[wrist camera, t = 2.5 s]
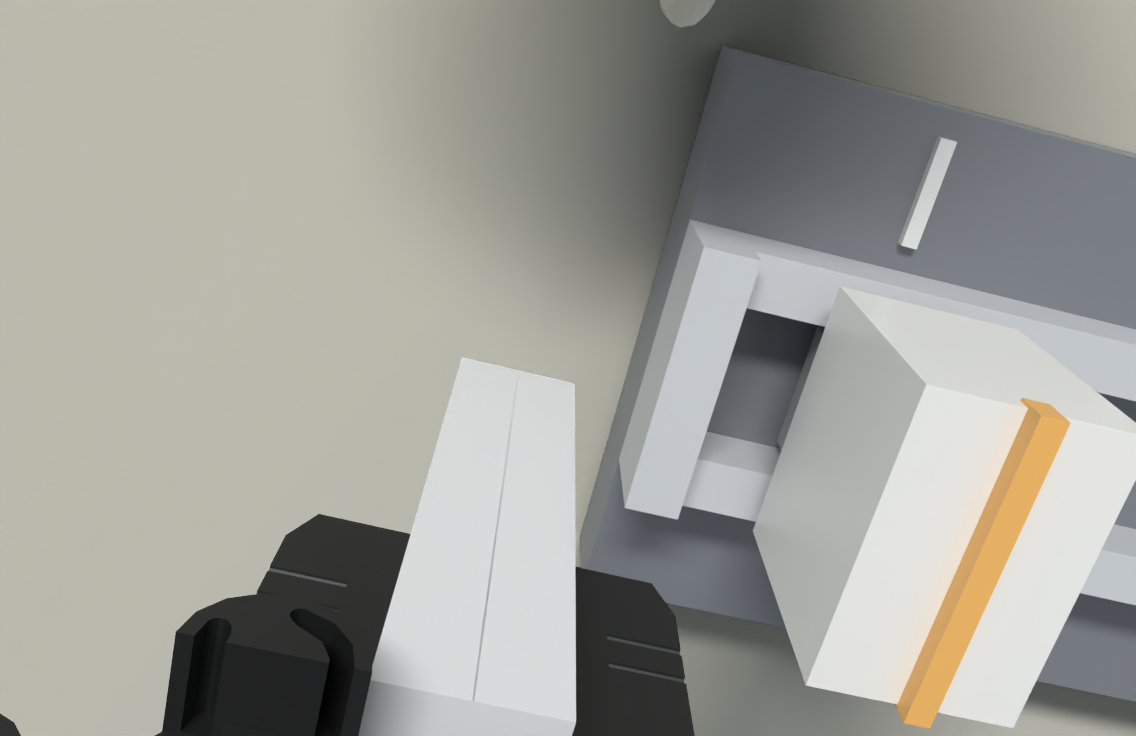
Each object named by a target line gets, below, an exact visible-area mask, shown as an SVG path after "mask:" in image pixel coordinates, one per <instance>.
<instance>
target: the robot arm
mask: <svg viewBox="0 0 1136 736" xmlns="http://www.w3.org/2000/svg"><path fill="white" fill-rule="evenodd" d="M679 654H680V643H679V637H678V631H677V624H676V618H675V615H674V614H673V612H672V611H671V609H670V608H669V607H668V605H667V604H666V603H665V601H664V600H663V598H662V597H661V596H660V594H659V593H658V591H657V590H656V589H655V587H654V586H653V585H652V583H648V582H643V581H638V580H634V579H629V578H625V577H620V576H616V575H611V574H607V573H602V572H597V571H593V570H588V569H584V568H579V567H575V383H570V382H566V381H562V380H558V379H553V378H549V377H545V376H540V375H536V374H532V373H528V372H523V371H519V370H515V369H511V368H506V367H502V366H498V365H493V364H489V363H485V362H481V361H476V360H472V359H468V358H463V357H462V359H461V362H460V366H459V369H458V373H457V376H456V379H455V383H454V386H453V390H452V393H451V397H450V400H449V404H448V407H447V410H446V414H445V417H444V421H443V424H442V428H441V431H440V435H439V438H438V441H437V445H436V448H435V452H434V455H433V459H432V462H431V466H430V469H429V472H428V476H427V479H426V483H425V486H424V490H423V493H422V497H421V500H420V503H419V507H418V510H417V514H416V517H415V521H414V524H413V528H412V531H411V534H408V533H403V532H399V531H394V530H389V529H385V528H380V527H376V526H371V525H367V524H362V523H357V522H353V521H348V520H344V519H339V518H335V517H330V516H325V515H321V514H318V515H317V516H315V517H314V518H312V519H311V520H309V521H307V522H306V523H304V524H303V525H301V526H300V527H298V528H296V529H295V530H293V531H292V532H290V533H289V534H287V535H286V536H285V538H284V540H283V542H282V544H281V546H280V548H279V550H278V552H277V553H276V555H275V557H274V559H273V561H272V563H271V565H270V569H269V571H267V573H266V575H265V577H264V579H263V581H262V583H261V585H260V587H259V589H258V591H257V594H256V595H248V596H241V597H234V598H227V599H224V600H222V601H220V602H218V603H215V604H213V605H211V606H208V607H206V608H204V609H201V610H199V611H197V612H196V613H195V614H194V615H192V616H191V617H190V618H189V619H188V620H187V621H186V622H185V623H184V624H183V625H182V626H181V627H180V628H179V629H178V630H177V631H176V636H175V643H174V650H173V658H172V665H171V672H170V679H169V687H168V694H167V701H166V708H165V716H164V723H163V730H162V732H161V733H159V734H157V735H155V736H694V731H693V725H692V718H691V712H690V706H689V700H688V693H687V687H686V684H684V678H685V674H684V668H683V662H682V656H680V655H679ZM0 736H21V735H20V733H19V731H18V729H17V727H16V725H15V723H14V722H12V721H11V720H9V719H8V718H6V717H5V716H3V715H2V714H0Z"/></svg>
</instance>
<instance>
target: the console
mask: <svg viewBox="0 0 1136 736" xmlns="http://www.w3.org/2000/svg"><path fill="white" fill-rule="evenodd" d="M840 286H841V287H845V288H849V289H854V290H858V291H862V292H866V293H870V294H874V295H878V296H882V297H886V298H890V299H894V300H899V301H903V302H907V303H911V304H915V305H919V306H923V307H927V308H931V309H935V310H940V311H944V312H948V313H952V314H956V315H960V316H964V317H968V318H972V319H976V320H981V321H985V322H989V323H993V324H997V325H1001V326H1005V327H1009V328H1013V329H1017V330H1019V331H1020V332H1022V333H1023V334H1024V335H1025V336H1027V337H1028V338H1029V339H1030V340H1032V341H1033V342H1034V343H1036V344H1037V345H1038V346H1039V347H1041V348H1042V349H1043V350H1044V351H1046V352H1047V353H1048V354H1049V355H1051V356H1052V357H1053V358H1055V359H1056V360H1057V361H1058V362H1060V363H1061V364H1062V365H1063V366H1065V367H1066V368H1067V369H1068V370H1070V371H1071V372H1072V373H1074V374H1075V375H1076V376H1077V377H1079V378H1080V379H1081V380H1082V381H1084V382H1085V383H1086V384H1087V385H1089V386H1090V387H1091V388H1093V389H1094V390H1095V391H1096V392H1098V393H1099V394H1100V395H1101V396H1103V397H1104V398H1105V399H1106V400H1108V401H1109V402H1110V403H1112V404H1113V405H1114V406H1115V407H1117V408H1118V409H1119V410H1120V411H1122V412H1123V413H1124V414H1125V415H1127V416H1128V417H1129V418H1131V419H1132V420H1133V421H1134V422H1136V154H1132V153H1128V152H1125V151H1121V150H1117V149H1113V148H1109V147H1106V146H1102V145H1098V144H1094V143H1091V142H1087V141H1083V140H1079V139H1075V138H1072V137H1068V136H1064V135H1060V134H1056V133H1053V132H1049V131H1045V130H1041V129H1037V128H1034V127H1030V126H1026V125H1022V124H1019V123H1015V122H1011V121H1007V120H1003V119H1000V118H996V117H992V116H988V115H984V114H981V113H977V112H973V111H969V110H965V109H962V108H958V107H954V106H950V105H947V104H943V103H939V102H935V101H931V100H928V99H924V98H920V97H916V96H912V95H909V94H905V93H901V92H897V91H893V90H890V89H886V88H882V87H878V86H875V85H871V84H867V83H863V82H859V81H856V80H852V79H848V78H844V77H840V76H837V75H833V74H829V73H825V72H821V71H818V70H814V69H810V68H806V67H803V66H799V65H795V64H791V63H787V62H784V61H780V60H776V59H772V58H768V57H765V56H761V55H757V54H753V53H749V52H746V51H742V50H738V49H734V48H731V47H727V46H723V45H722V47H721V51H720V54H719V58H718V61H717V65H716V68H715V72H714V75H713V79H712V82H711V85H710V89H709V92H708V96H707V99H706V103H705V106H704V110H703V113H702V117H701V120H700V123H699V127H698V130H697V134H696V137H695V141H694V144H693V148H692V151H691V155H690V158H689V162H688V165H687V168H686V172H685V175H684V179H683V182H682V186H681V189H680V193H679V196H678V200H677V203H676V206H675V210H674V213H673V217H672V220H671V224H670V227H669V231H668V234H667V238H666V241H665V244H664V248H663V251H662V255H661V258H660V262H659V265H658V269H657V272H656V276H655V279H654V282H653V286H652V289H651V293H650V296H649V300H648V303H647V307H646V310H645V314H644V317H643V320H642V324H641V327H640V331H639V334H638V338H637V341H636V345H635V348H634V352H633V355H632V359H631V362H630V365H629V369H628V372H627V376H626V379H625V383H624V386H623V390H622V393H621V397H620V400H619V403H618V407H617V410H616V414H615V417H614V421H613V424H612V428H611V431H610V435H609V438H608V441H607V445H606V448H605V452H604V455H603V459H602V462H601V466H600V469H599V473H598V476H597V479H596V483H595V486H594V490H593V493H592V497H591V500H590V504H589V507H588V511H587V514H586V517H585V521H584V524H583V528H582V531H581V535H580V551H581V568H584V569H588V570H593V571H597V572H602V573H607V574H611V575H616V576H620V577H625V578H629V579H634V580H638V581H643V582H648V583H652V585H653V586H654V587H655V589H656V590H657V591H658V593H659V594H660V596H661V597H662V598H663V600H664V601H665V603H669V604H673V605H678V606H683V607H688V608H692V609H697V610H702V611H707V612H711V613H716V614H721V615H726V616H730V617H735V618H740V619H745V620H749V621H754V622H759V623H764V624H768V625H773V626H778V627H783V628H786V627H785V624H784V621H783V618H782V615H781V612H780V609H779V606H778V603H777V600H776V597H775V595H774V592H773V589H772V586H771V583H770V580H769V577H768V574H767V571H766V568H765V565H764V562H763V560H762V557H761V554H760V551H759V548H758V545H757V542H756V539H755V536H754V533H753V529H754V526H755V523H756V520H757V518H758V515H759V512H760V509H761V506H762V504H763V501H764V498H765V495H766V492H767V490H768V487H769V484H770V481H771V478H772V476H773V473H774V470H775V467H776V464H777V461H778V459H779V456H780V453H781V449H780V446H779V444H778V442H777V439H778V437H779V434H780V431H781V428H782V425H783V422H784V420H785V417H786V414H787V411H788V408H789V405H790V403H791V400H792V397H793V394H794V391H795V388H796V386H797V383H798V380H799V377H800V374H801V371H802V369H803V366H804V363H805V360H806V357H807V354H808V352H809V349H810V346H811V343H812V340H813V337H814V335H815V332H816V329H817V327H820V328H824V329H825V327H826V324H827V321H828V318H829V315H830V313H831V310H832V307H833V304H834V301H835V299H836V296H837V293H838V290H839V287H840ZM1037 681H1039V682H1044V683H1049V684H1053V685H1058V686H1063V687H1068V688H1072V689H1077V690H1082V691H1087V692H1091V693H1096V694H1101V695H1106V696H1110V697H1115V698H1120V699H1125V700H1129V701H1134V702H1136V481H1135V483H1134V485H1133V487H1132V489H1131V491H1130V493H1129V495H1128V497H1127V499H1126V501H1125V503H1124V505H1123V507H1122V509H1121V511H1120V513H1119V515H1118V517H1117V519H1116V521H1115V523H1114V525H1113V527H1112V529H1111V531H1110V533H1109V535H1108V537H1107V539H1106V541H1105V543H1104V545H1103V547H1102V549H1101V551H1100V553H1099V555H1098V557H1097V559H1096V561H1095V563H1094V565H1093V567H1092V569H1091V571H1090V574H1089V576H1088V578H1087V580H1086V582H1085V584H1084V586H1083V588H1082V590H1081V592H1080V594H1079V596H1078V598H1077V600H1076V602H1075V604H1074V606H1073V608H1072V610H1071V612H1070V614H1069V616H1068V618H1067V620H1066V622H1065V624H1064V626H1063V628H1062V630H1061V632H1060V634H1059V636H1058V638H1057V640H1056V642H1055V644H1054V646H1053V648H1052V650H1051V652H1050V654H1049V656H1048V658H1047V660H1046V662H1045V664H1044V666H1043V668H1042V670H1041V672H1040V674H1039V676H1038V679H1037Z"/></svg>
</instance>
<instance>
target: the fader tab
mask: <svg viewBox="0 0 1136 736" xmlns="http://www.w3.org/2000/svg"><path fill="white" fill-rule="evenodd" d="M777 442H778V444H779V446H780V449H781V453H780V456H779V459H778V461H777V464H776V467H775V470H774V473H773V476H772V478H771V481H770V484H769V487H768V490H767V492H766V495H765V498H764V501H763V504H762V506H761V509H760V512H759V515H758V518H757V520H756V523H755V526H754V529H753V533H754V536H755V539H756V542H757V545H758V548H759V551H760V554H761V557H762V560H763V562H764V565H765V568H766V571H767V574H768V577H769V580H770V583H771V586H772V589H773V592H774V595H775V597H776V600H777V603H778V606H779V609H780V612H781V615H782V618H783V621H784V624H785V627H786V630H787V632H788V635H789V638H790V641H791V644H792V647H793V650H794V653H795V656H796V659H797V662H798V665H799V667H800V670H801V673H802V676H803V679H804V682H805V685H806V686H811V687H815V688H820V689H825V690H830V691H835V692H840V693H845V694H849V695H854V696H859V697H864V698H869V699H874V700H879V701H884V702H888V703H893V704H895V706H896V708H897V710H898V712H899V714H900V717H901V719H902V721H903V723H904V724H909V725H914V726H919V727H924V728H929V729H930V728H931V726H932V723H933V721H934V719H935V717H936V715H937V713H942V714H947V715H952V716H957V717H961V718H966V719H971V720H976V721H981V722H986V723H991V724H995V725H1000V726H1005V727H1010V728H1013V727H1014V725H1015V723H1016V721H1017V719H1018V717H1019V715H1020V713H1021V711H1022V709H1023V707H1024V705H1025V703H1026V701H1027V699H1028V697H1029V695H1030V693H1031V691H1032V689H1033V687H1034V685H1035V683H1036V681H1037V679H1038V676H1039V674H1040V672H1041V670H1042V668H1043V666H1044V664H1045V662H1046V660H1047V658H1048V656H1049V654H1050V652H1051V650H1052V648H1053V646H1054V644H1055V642H1056V640H1057V638H1058V636H1059V634H1060V632H1061V630H1062V628H1063V626H1064V624H1065V622H1066V620H1067V618H1068V616H1069V614H1070V612H1071V610H1072V608H1073V606H1074V604H1075V602H1076V600H1077V598H1078V596H1079V594H1080V592H1081V590H1082V588H1083V586H1084V584H1085V582H1086V580H1087V578H1088V576H1089V574H1090V571H1091V569H1092V567H1093V565H1094V563H1095V561H1096V559H1097V557H1098V555H1099V553H1100V551H1101V549H1102V547H1103V545H1104V543H1105V541H1106V539H1107V537H1108V535H1109V533H1110V531H1111V529H1112V527H1113V525H1114V523H1115V521H1116V519H1117V517H1118V515H1119V513H1120V511H1121V509H1122V507H1123V505H1124V503H1125V501H1126V499H1127V497H1128V495H1129V493H1130V491H1131V489H1132V487H1133V485H1134V483H1135V481H1136V422H1134V421H1133V420H1132V419H1131V418H1129V417H1128V416H1127V415H1125V414H1124V413H1123V412H1122V411H1120V410H1119V409H1118V408H1117V407H1115V406H1114V405H1113V404H1112V403H1110V402H1109V401H1108V400H1106V399H1105V398H1104V397H1103V396H1101V395H1100V394H1099V393H1098V392H1096V391H1095V390H1094V389H1093V388H1091V387H1090V386H1089V385H1087V384H1086V383H1085V382H1084V381H1082V380H1081V379H1080V378H1079V377H1077V376H1076V375H1075V374H1074V373H1072V372H1071V371H1070V370H1068V369H1067V368H1066V367H1065V366H1063V365H1062V364H1061V363H1060V362H1058V361H1057V360H1056V359H1055V358H1053V357H1052V356H1051V355H1049V354H1048V353H1047V352H1046V351H1044V350H1043V349H1042V348H1041V347H1039V346H1038V345H1037V344H1036V343H1034V342H1033V341H1032V340H1030V339H1029V338H1028V337H1027V336H1025V335H1024V334H1023V333H1022V332H1020V331H1019V330H1017V329H1013V328H1009V327H1005V326H1001V325H997V324H993V323H989V322H985V321H981V320H976V319H972V318H968V317H964V316H960V315H956V314H952V313H948V312H944V311H940V310H935V309H931V308H927V307H923V306H919V305H915V304H911V303H907V302H903V301H899V300H894V299H890V298H886V297H882V296H878V295H874V294H870V293H866V292H862V291H858V290H854V289H849V288H845V287H841V286H840V287H839V290H838V293H837V296H836V299H835V301H834V304H833V307H832V310H831V313H830V315H829V318H828V321H827V324H826V327H825V329H824V328H820V327H817V329H816V332H815V335H814V337H813V340H812V343H811V346H810V349H809V352H808V354H807V357H806V360H805V363H804V366H803V369H802V371H801V374H800V377H799V380H798V383H797V386H796V388H795V391H794V394H793V397H792V400H791V403H790V405H789V408H788V411H787V414H786V417H785V420H784V422H783V425H782V428H781V431H780V434H779V437H778V439H777Z"/></svg>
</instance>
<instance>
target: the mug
mask: <svg viewBox="0 0 1136 736" xmlns="http://www.w3.org/2000/svg"><path fill="white" fill-rule="evenodd" d="M714 2H715V0H660V5H661V9H662V11H663V12H664V14H665V15H666V17H667V18H668V20H669V21H670V22H671V23H672V24H674V25H676V26H678V27H680V28H681V27H686V26H692V25H695V24H696V23H698V22H699V21H700V20H701V19H702V18H703V17H704V16H705V15H706V14H707V13H708V12H709V11H710V9H711V7H712V6H713V4H714Z"/></svg>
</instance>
